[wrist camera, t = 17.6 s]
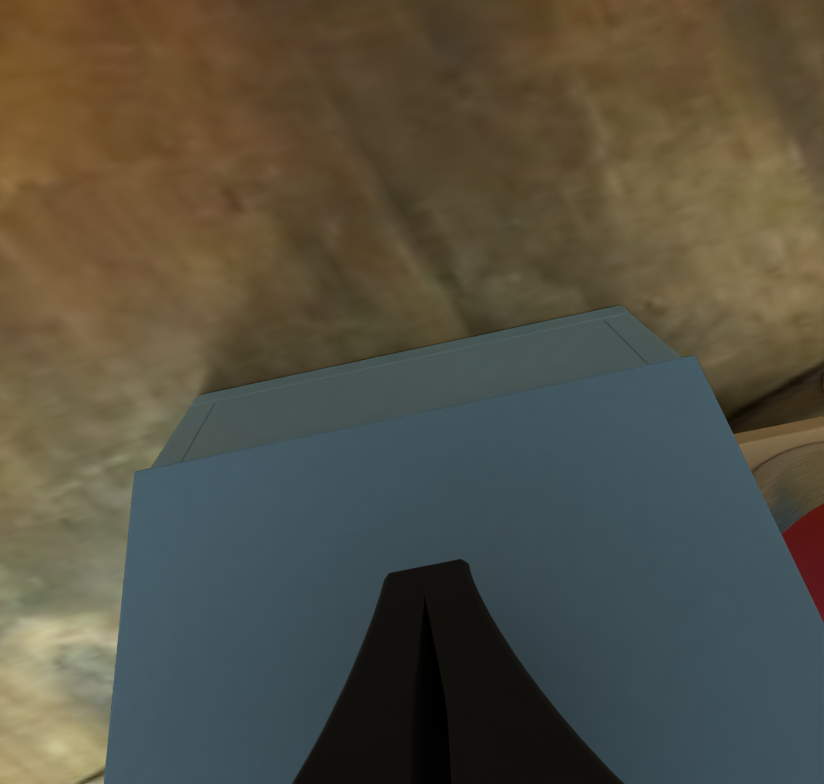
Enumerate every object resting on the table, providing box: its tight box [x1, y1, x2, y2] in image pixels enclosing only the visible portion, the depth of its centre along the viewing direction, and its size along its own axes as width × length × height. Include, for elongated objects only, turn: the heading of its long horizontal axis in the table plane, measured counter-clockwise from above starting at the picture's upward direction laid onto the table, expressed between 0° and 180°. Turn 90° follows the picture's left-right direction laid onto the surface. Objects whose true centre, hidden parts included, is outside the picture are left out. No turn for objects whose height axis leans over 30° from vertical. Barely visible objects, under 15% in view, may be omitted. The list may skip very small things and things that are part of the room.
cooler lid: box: [104, 355, 824, 784], centre depth 12 cm, size 11×13×1 cm
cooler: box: [151, 305, 682, 468], centre depth 19 cm, size 11×13×4 cm
